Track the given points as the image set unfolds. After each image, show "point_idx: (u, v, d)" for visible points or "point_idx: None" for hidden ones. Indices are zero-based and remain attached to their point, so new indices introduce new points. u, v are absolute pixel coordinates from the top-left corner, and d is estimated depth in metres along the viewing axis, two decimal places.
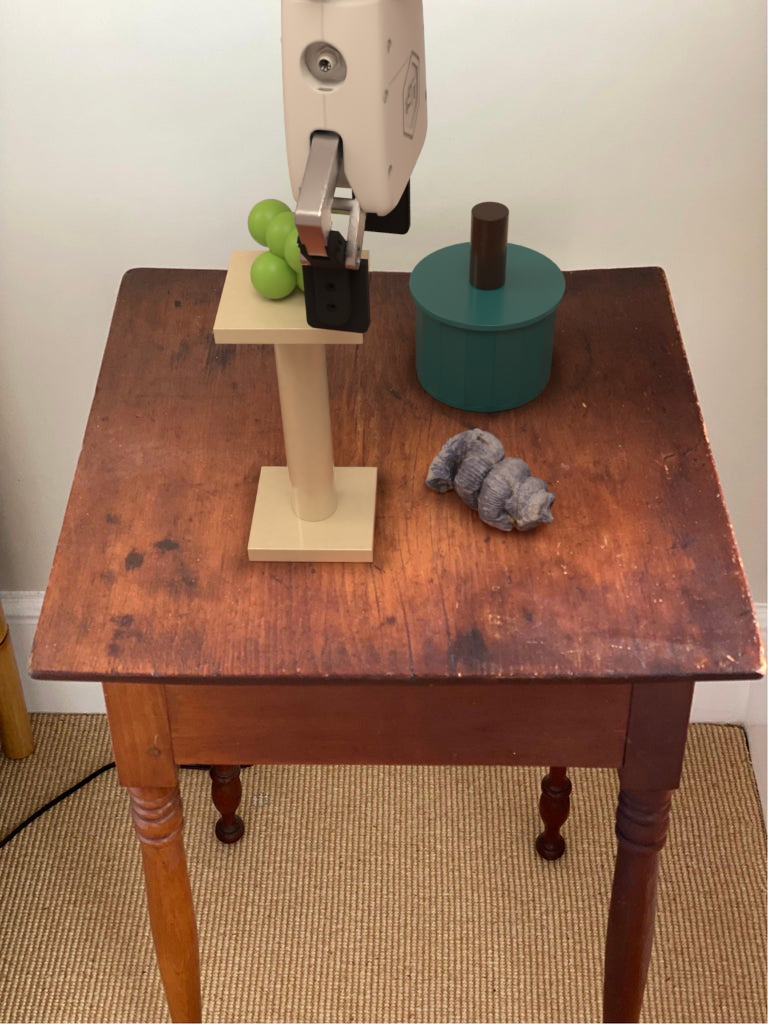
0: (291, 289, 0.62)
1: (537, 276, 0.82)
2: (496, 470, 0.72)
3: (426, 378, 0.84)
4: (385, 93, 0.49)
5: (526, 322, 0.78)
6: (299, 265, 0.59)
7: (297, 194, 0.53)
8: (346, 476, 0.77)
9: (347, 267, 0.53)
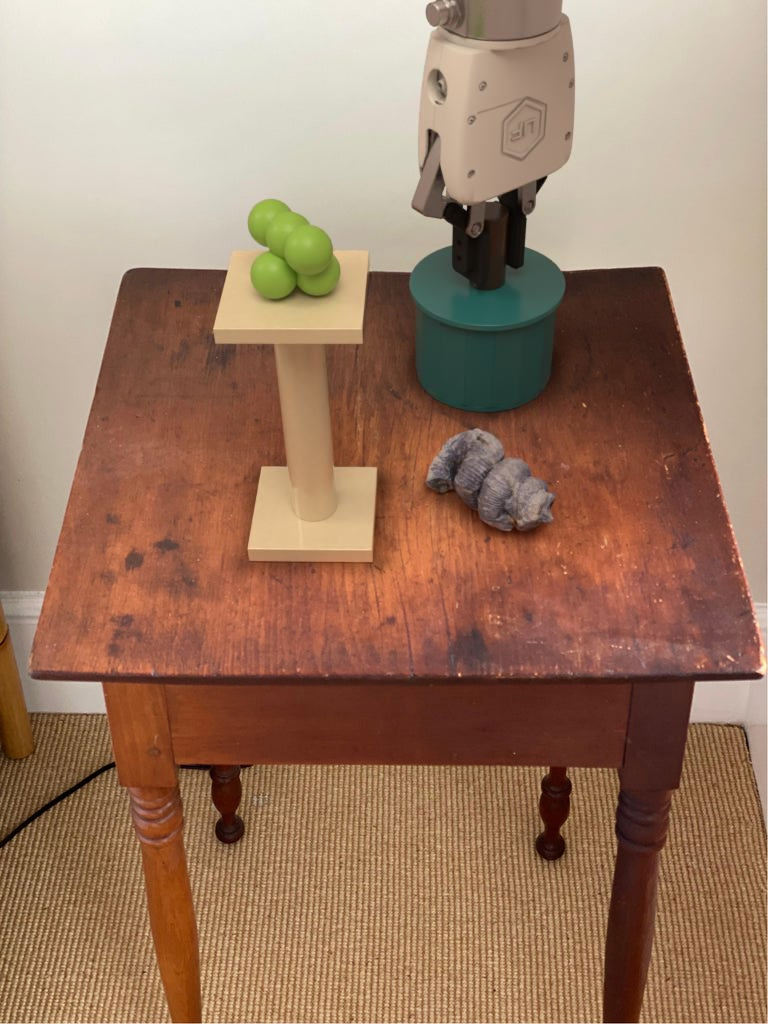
0: (291, 289, 0.62)
1: (537, 276, 0.82)
2: (496, 470, 0.72)
3: (426, 378, 0.84)
4: (473, 118, 0.69)
5: (526, 322, 0.78)
6: (299, 265, 0.59)
7: (419, 170, 0.74)
8: (346, 476, 0.77)
9: (469, 235, 0.76)
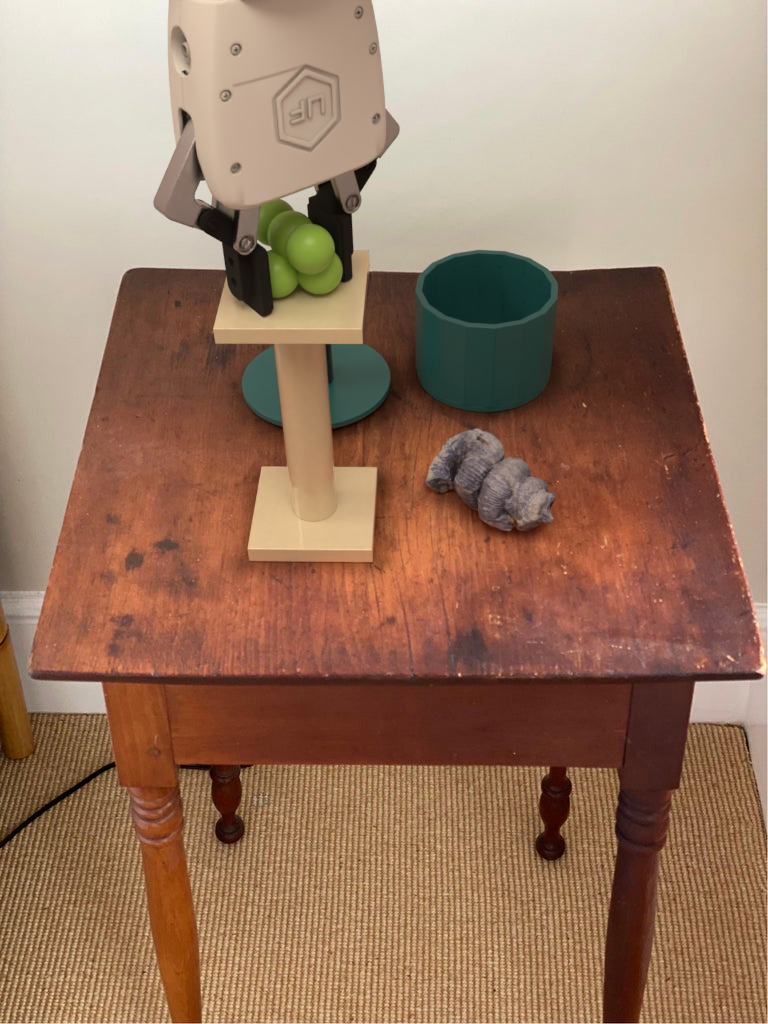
0: (293, 288, 0.62)
1: (365, 373, 0.85)
2: (496, 470, 0.72)
3: (426, 378, 0.84)
4: (229, 93, 0.51)
5: (346, 421, 0.82)
6: (301, 264, 0.59)
7: None
8: (346, 476, 0.77)
9: (237, 251, 0.58)
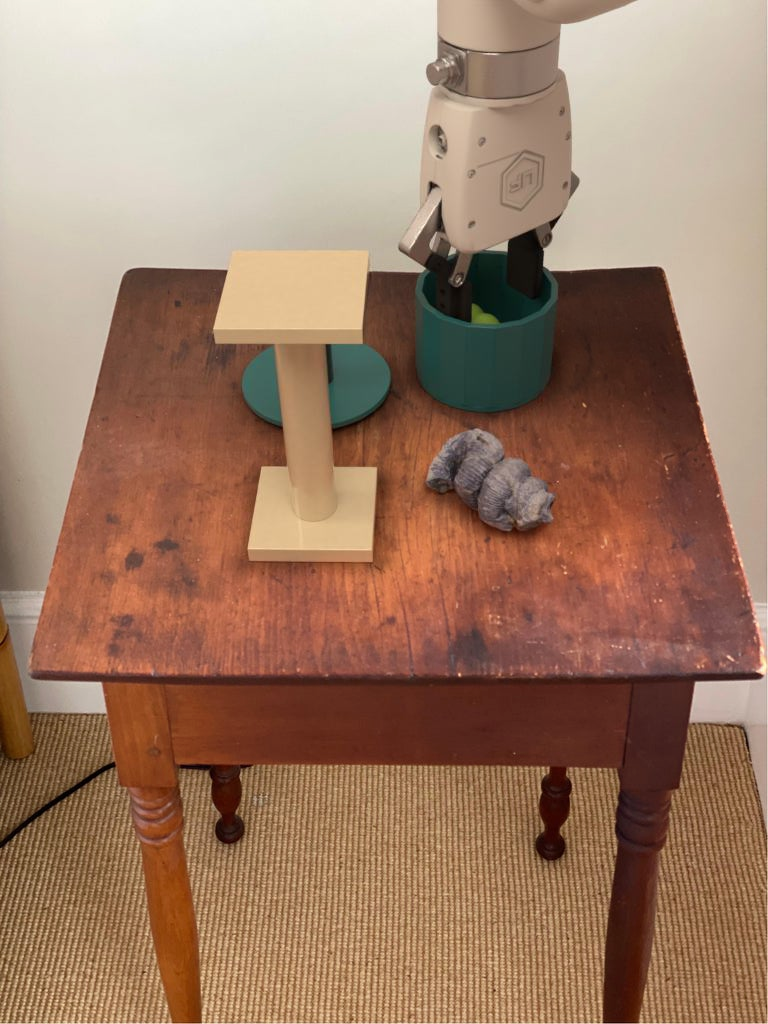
0: None
1: (365, 373, 0.85)
2: (496, 470, 0.72)
3: (426, 378, 0.84)
4: (473, 172, 0.71)
5: (346, 421, 0.82)
6: None
7: None
8: (346, 476, 0.77)
9: (450, 284, 0.77)
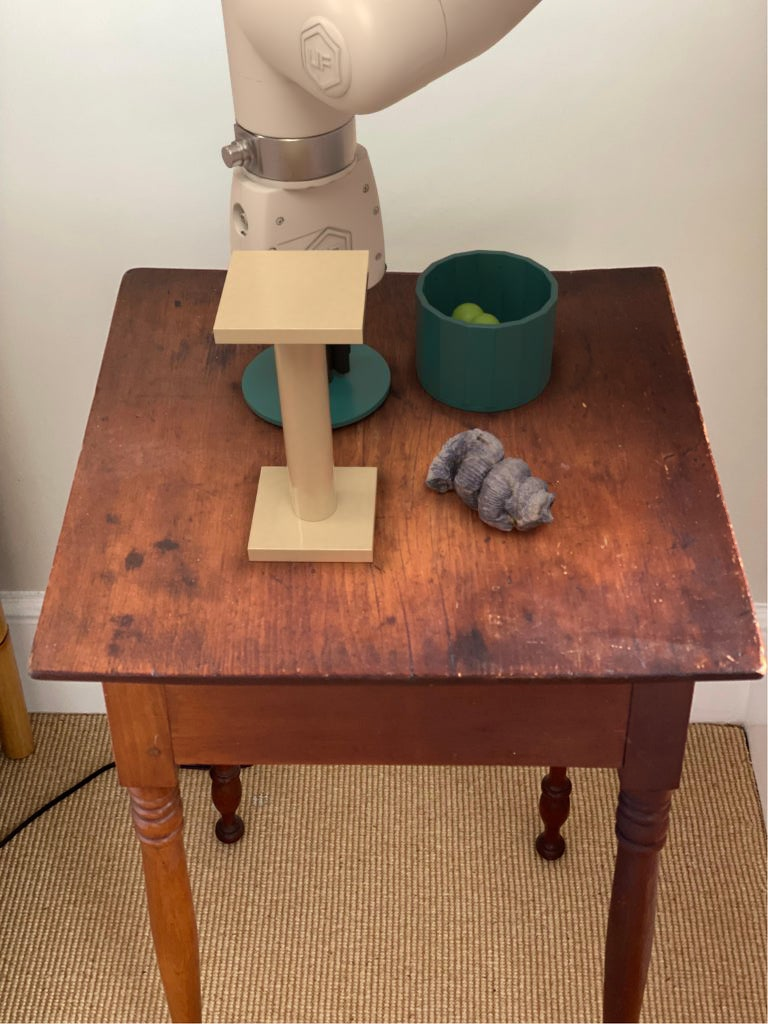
0: None
1: (365, 373, 0.85)
2: (496, 470, 0.72)
3: (426, 378, 0.84)
4: (274, 249, 0.73)
5: (346, 421, 0.82)
6: None
7: None
8: (346, 476, 0.77)
9: None
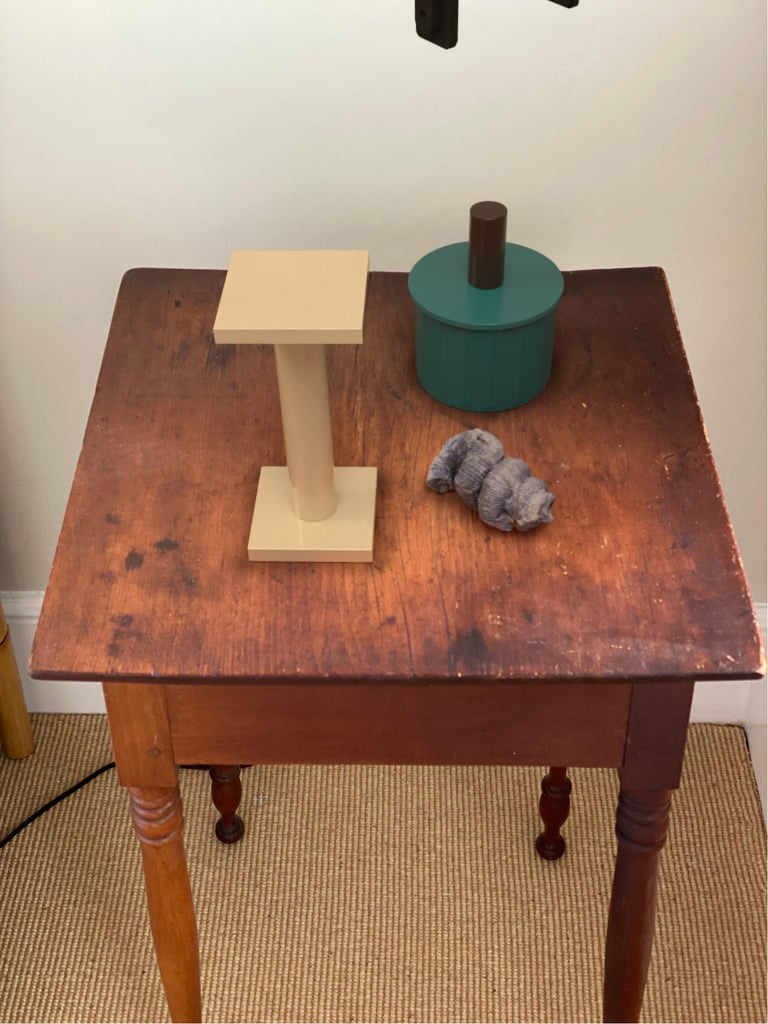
0: None
1: (536, 275, 0.82)
2: (496, 470, 0.72)
3: (426, 378, 0.84)
4: None
5: (525, 321, 0.78)
6: None
7: None
8: (346, 476, 0.77)
9: None
